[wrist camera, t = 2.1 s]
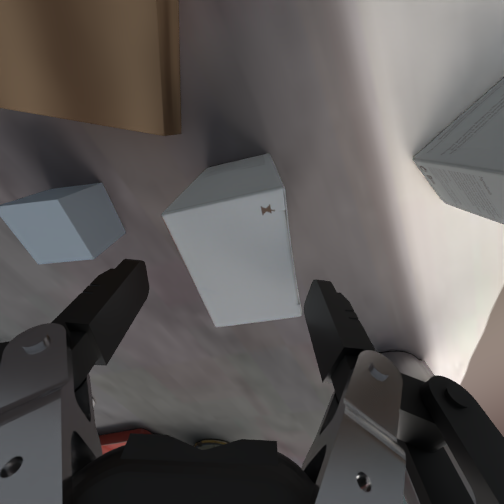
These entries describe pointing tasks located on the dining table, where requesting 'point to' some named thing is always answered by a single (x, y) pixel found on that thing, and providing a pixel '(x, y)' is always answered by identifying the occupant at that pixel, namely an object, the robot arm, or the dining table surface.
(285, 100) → the dining table surface
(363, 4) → the dining table surface
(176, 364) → the dining table surface
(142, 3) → the walnut slab
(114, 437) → the plant saucer
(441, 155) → the skincare box
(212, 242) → the small box
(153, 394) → the dining table surface
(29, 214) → the blue-grey cube
